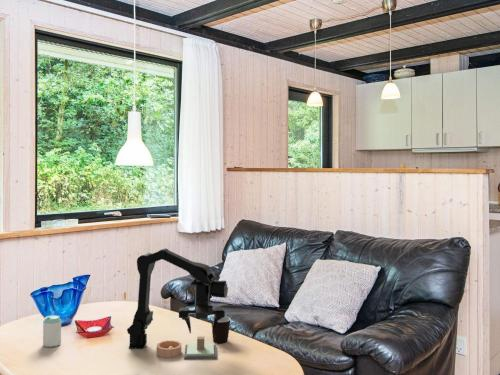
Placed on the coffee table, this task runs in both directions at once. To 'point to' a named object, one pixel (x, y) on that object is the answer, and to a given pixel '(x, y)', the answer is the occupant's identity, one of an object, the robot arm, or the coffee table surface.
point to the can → (52, 331)
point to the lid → (200, 348)
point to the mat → (200, 356)
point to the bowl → (169, 349)
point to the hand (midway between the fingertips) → (201, 333)
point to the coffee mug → (221, 330)
